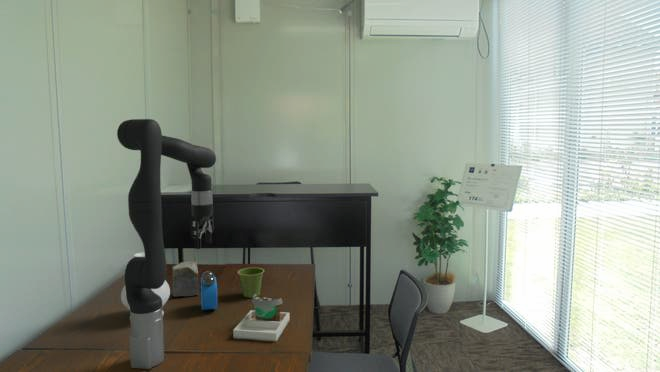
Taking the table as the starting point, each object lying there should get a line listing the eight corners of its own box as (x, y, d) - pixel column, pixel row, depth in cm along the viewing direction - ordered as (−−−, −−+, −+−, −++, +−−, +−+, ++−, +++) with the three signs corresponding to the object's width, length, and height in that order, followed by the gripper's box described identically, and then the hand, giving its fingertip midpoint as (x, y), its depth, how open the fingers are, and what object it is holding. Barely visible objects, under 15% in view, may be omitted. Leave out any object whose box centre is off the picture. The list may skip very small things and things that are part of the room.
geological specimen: (173, 299, 190) (172, 266, 189) (172, 295, 196) (171, 262, 194) (199, 296, 195) (198, 263, 193) (197, 291, 200) (196, 259, 199)
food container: (245, 324, 163) (245, 298, 162) (255, 318, 169) (254, 293, 168) (274, 330, 158) (274, 303, 157) (282, 323, 164) (282, 297, 163)
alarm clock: (217, 313, 175) (216, 277, 173) (201, 315, 173) (200, 279, 171) (215, 302, 187) (214, 268, 186) (200, 304, 185) (199, 269, 184)
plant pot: (252, 289, 204) (252, 265, 203) (270, 294, 197) (269, 270, 195) (232, 296, 195) (231, 271, 194) (249, 302, 187) (249, 276, 186)
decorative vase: (179, 310, 179) (178, 250, 176) (151, 327, 162) (148, 261, 159) (143, 305, 183) (140, 247, 181) (111, 322, 166) (108, 258, 164)
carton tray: (276, 341, 151) (276, 333, 150) (233, 338, 153) (233, 330, 153) (289, 320, 169) (289, 312, 168) (251, 317, 171) (250, 310, 171)
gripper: (203, 205, 153) (204, 250, 155) (219, 200, 167) (220, 241, 169) (183, 205, 154) (184, 250, 156) (201, 200, 168) (202, 241, 170)
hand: (203, 245), depth 162 cm, fingers open, 8 cm apart
